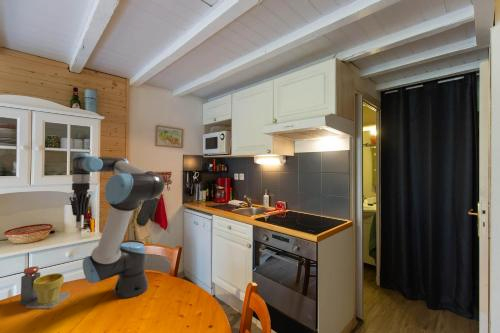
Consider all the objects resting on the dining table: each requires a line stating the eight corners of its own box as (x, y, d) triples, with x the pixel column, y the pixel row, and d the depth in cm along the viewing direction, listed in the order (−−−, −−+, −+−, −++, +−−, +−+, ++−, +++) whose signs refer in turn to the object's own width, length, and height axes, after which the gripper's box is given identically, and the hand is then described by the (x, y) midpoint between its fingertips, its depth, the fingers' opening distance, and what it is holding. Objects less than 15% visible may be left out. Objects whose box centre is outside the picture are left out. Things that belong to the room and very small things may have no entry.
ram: (40, 293, 110) (41, 266, 110) (31, 299, 105) (31, 270, 105) (29, 293, 110) (30, 266, 110) (20, 299, 105) (20, 270, 105)
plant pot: (45, 308, 101) (46, 284, 101) (26, 304, 103) (27, 282, 103) (68, 295, 111) (69, 274, 111) (50, 292, 113) (51, 272, 113)
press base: (70, 295, 113) (71, 269, 113) (51, 308, 102) (52, 280, 102) (35, 294, 113) (36, 269, 113) (12, 308, 102) (13, 280, 102)
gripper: (82, 181, 130) (81, 224, 130) (64, 183, 117) (62, 230, 117) (96, 181, 131) (95, 224, 130) (79, 183, 117) (78, 231, 117)
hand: (79, 227), depth 124 cm, fingers closed
